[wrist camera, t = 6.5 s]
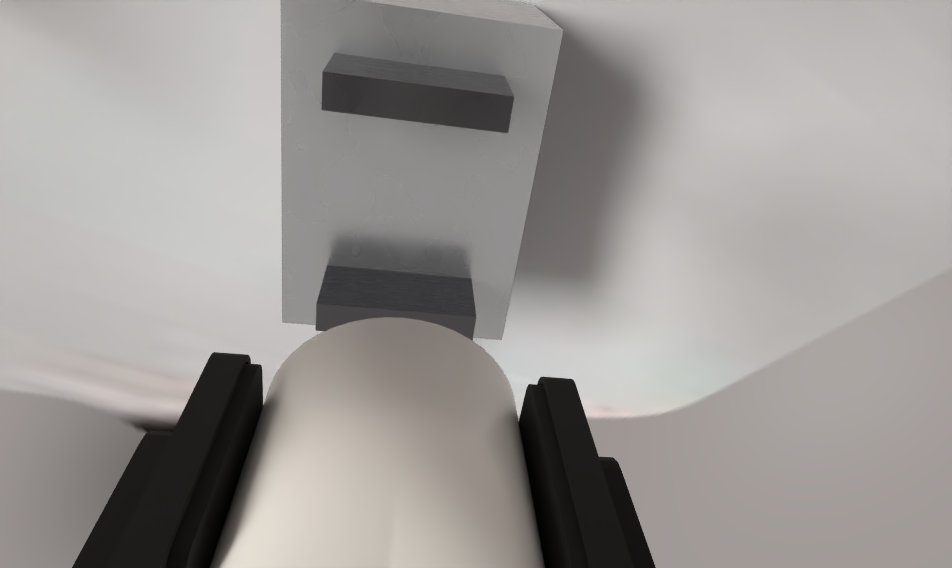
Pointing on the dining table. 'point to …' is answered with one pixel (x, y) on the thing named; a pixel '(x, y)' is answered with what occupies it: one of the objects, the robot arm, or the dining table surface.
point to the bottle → (384, 458)
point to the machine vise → (409, 157)
